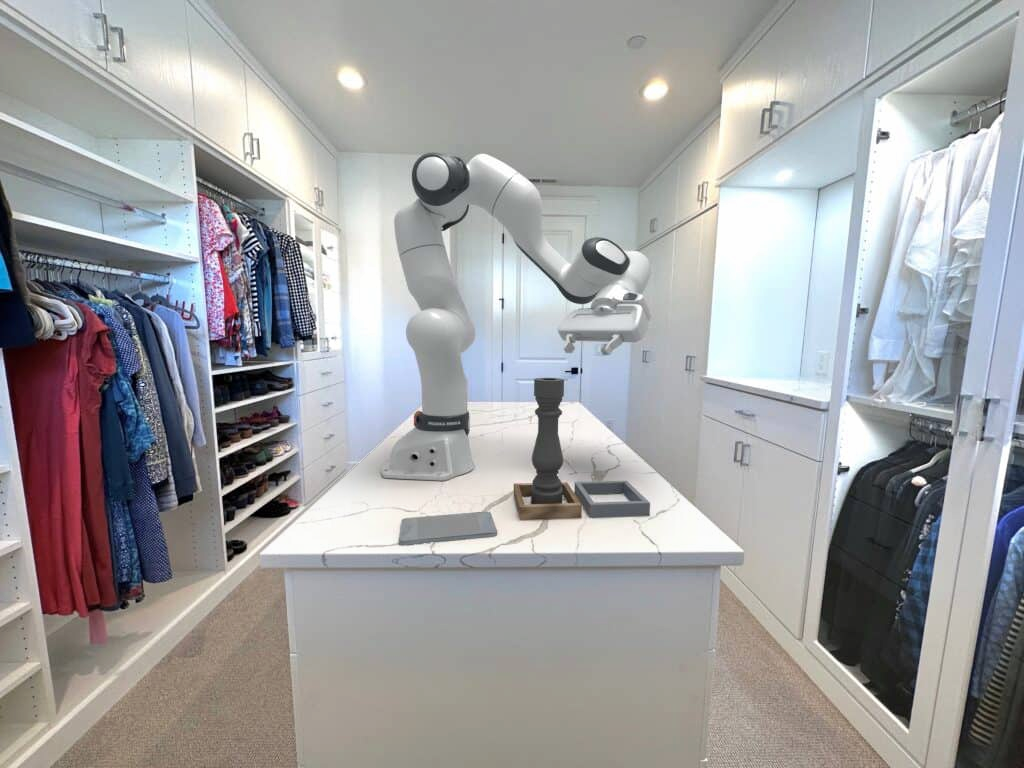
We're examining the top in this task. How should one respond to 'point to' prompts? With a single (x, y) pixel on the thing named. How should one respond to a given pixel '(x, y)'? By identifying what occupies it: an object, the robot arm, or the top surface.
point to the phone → (447, 528)
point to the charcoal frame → (611, 509)
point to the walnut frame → (546, 510)
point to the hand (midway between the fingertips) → (585, 352)
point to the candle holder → (547, 442)
